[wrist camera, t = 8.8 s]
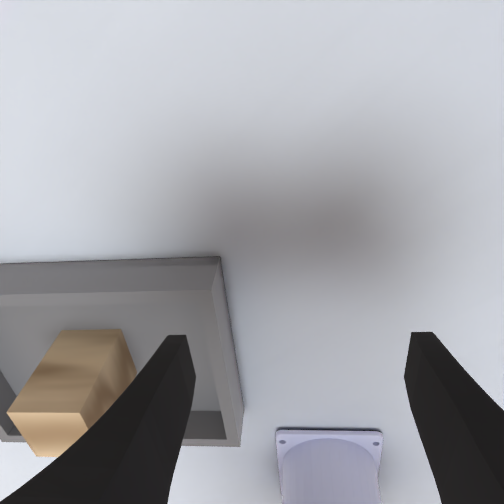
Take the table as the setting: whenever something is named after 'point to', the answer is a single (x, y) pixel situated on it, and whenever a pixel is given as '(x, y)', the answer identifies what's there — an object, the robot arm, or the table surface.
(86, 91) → the table surface
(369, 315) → the table surface
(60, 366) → the maple block
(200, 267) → the tray
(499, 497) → the robot arm
